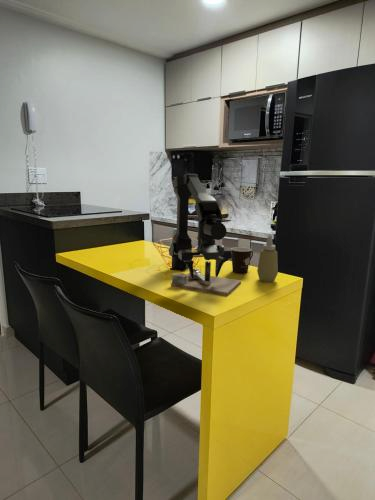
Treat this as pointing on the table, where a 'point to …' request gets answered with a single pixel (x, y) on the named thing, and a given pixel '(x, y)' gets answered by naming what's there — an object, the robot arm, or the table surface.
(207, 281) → the lever
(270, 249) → the squeeze bottle
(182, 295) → the table surface
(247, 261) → the coffee mug
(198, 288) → the base
